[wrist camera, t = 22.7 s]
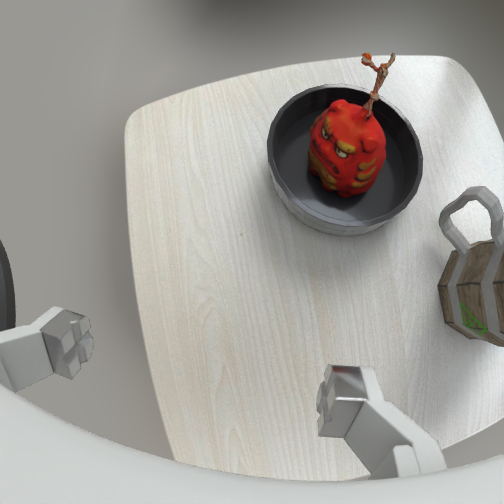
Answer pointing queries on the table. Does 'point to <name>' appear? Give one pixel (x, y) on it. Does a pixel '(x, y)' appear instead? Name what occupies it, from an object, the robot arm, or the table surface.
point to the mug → (474, 273)
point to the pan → (310, 187)
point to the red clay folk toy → (349, 142)
